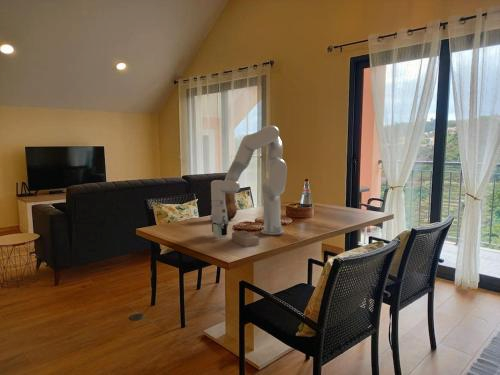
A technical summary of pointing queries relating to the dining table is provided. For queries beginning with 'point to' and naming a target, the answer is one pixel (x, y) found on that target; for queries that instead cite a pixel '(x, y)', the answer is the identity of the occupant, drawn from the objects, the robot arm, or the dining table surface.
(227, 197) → the brown oblong lump
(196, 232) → the dining table surface
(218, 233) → the block
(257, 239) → the brick
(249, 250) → the dining table surface
